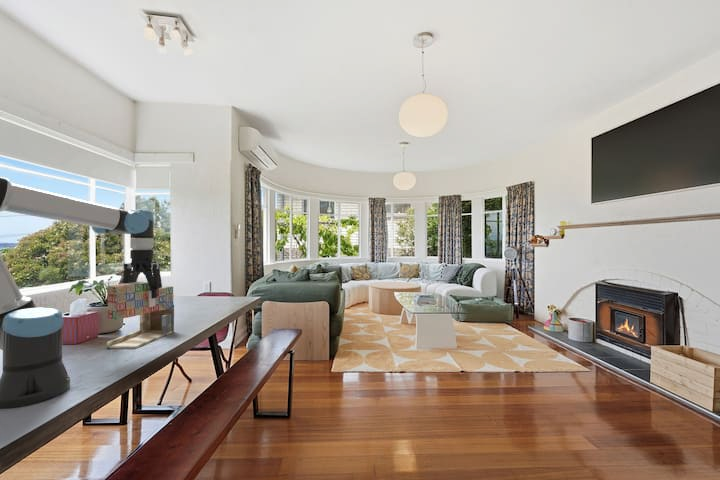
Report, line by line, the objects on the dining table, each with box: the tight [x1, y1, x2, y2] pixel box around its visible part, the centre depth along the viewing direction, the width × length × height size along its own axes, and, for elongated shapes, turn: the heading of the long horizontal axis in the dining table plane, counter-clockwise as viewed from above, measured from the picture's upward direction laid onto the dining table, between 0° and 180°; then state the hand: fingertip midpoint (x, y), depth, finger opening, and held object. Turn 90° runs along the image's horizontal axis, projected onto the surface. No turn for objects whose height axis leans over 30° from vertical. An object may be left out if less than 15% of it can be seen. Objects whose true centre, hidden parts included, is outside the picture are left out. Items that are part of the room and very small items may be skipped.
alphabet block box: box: [106, 304, 175, 350], centre depth 139 cm, size 24×12×13 cm, turn 177°
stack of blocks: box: [106, 280, 174, 320], centre depth 125 cm, size 21×6×12 cm, turn 154°
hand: (141, 306), depth 125 cm, fingers closed on stack of blocks, 8 cm apart
